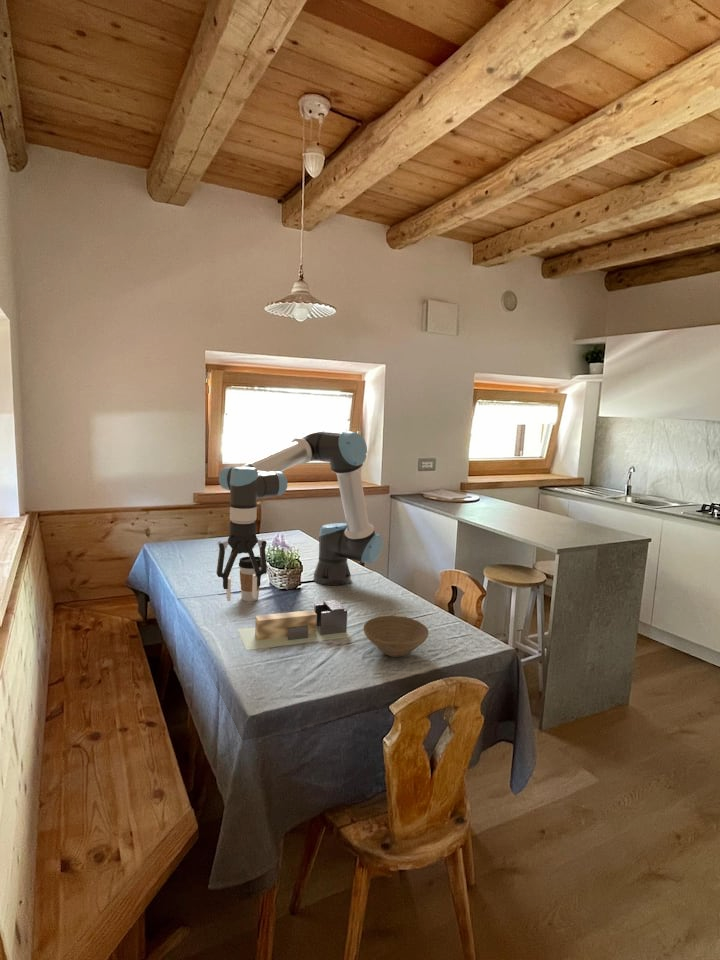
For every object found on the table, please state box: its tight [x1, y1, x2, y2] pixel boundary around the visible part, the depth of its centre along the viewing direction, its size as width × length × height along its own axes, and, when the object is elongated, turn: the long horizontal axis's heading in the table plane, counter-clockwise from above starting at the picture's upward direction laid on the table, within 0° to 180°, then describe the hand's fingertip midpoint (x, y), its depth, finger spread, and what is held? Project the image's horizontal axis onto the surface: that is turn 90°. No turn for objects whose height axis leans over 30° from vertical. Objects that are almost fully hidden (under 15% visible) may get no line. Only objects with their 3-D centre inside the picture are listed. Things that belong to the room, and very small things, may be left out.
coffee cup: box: [238, 556, 262, 602], centre depth 190 cm, size 8×8×15 cm
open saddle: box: [288, 625, 308, 640], centre depth 163 cm, size 6×9×4 cm, turn 23°
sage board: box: [237, 626, 352, 651], centre depth 163 cm, size 32×15×1 cm, turn 112°
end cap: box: [313, 599, 348, 635], centre depth 167 cm, size 8×8×8 cm
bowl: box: [363, 615, 429, 658], centre depth 152 cm, size 18×18×8 cm
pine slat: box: [254, 609, 317, 640], centre depth 161 cm, size 18×4×6 cm, turn 112°
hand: (241, 598), depth 155 cm, fingers open, 7 cm apart
